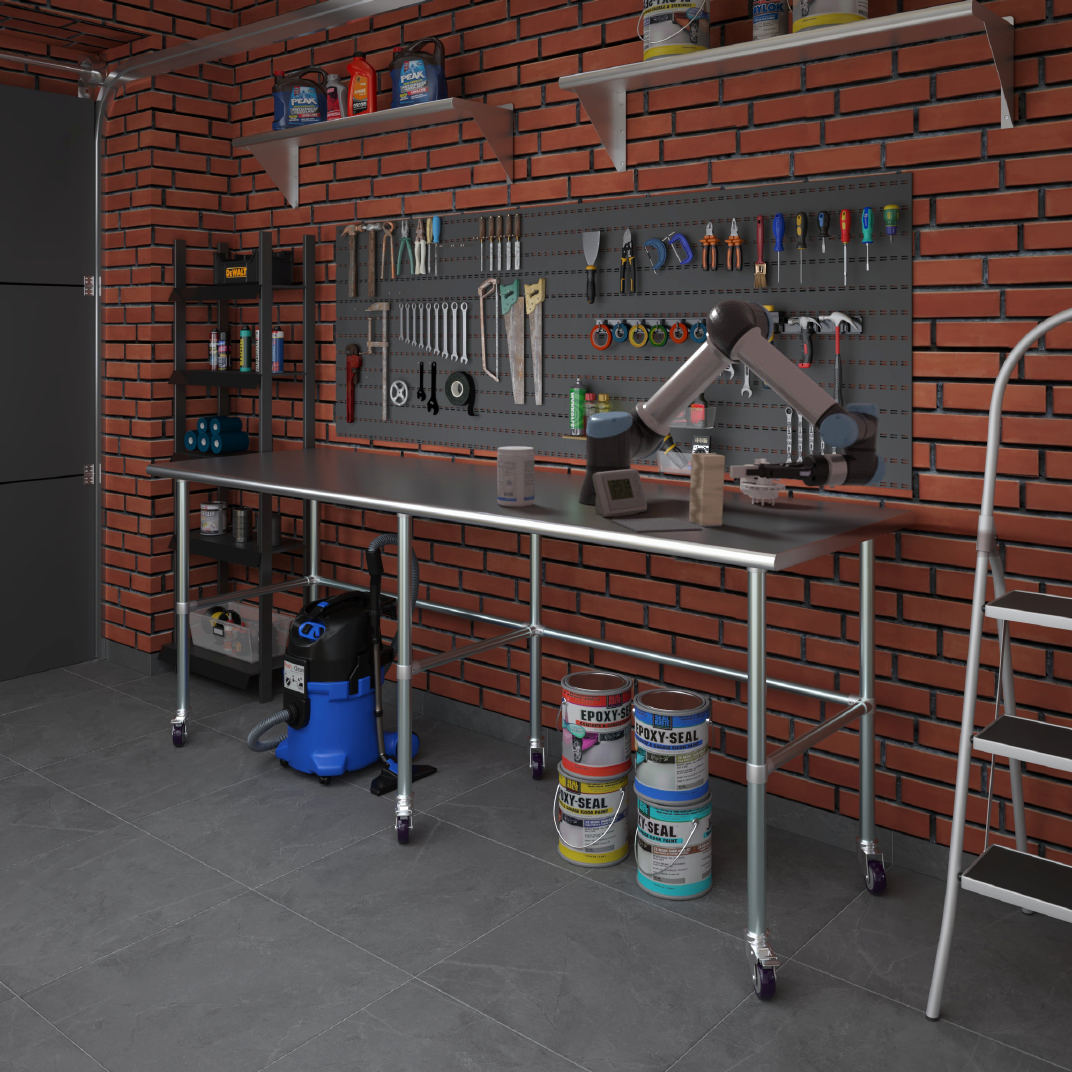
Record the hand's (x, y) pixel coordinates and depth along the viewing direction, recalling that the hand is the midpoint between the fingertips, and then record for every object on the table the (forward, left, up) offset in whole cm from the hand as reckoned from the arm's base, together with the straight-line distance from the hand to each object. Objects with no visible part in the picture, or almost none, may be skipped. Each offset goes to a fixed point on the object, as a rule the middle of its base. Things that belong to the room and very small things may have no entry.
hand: (731, 471), depth 239 cm
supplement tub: (-39, -41, -12) cm, 58 cm away
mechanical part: (-29, +24, -12) cm, 40 cm away
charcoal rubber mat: (0, -18, -12) cm, 22 cm away
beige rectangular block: (0, -6, -12) cm, 13 cm away
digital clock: (-19, -20, -12) cm, 30 cm away
